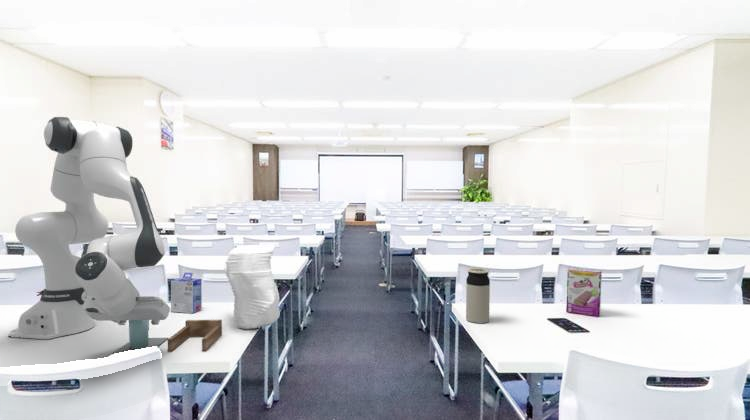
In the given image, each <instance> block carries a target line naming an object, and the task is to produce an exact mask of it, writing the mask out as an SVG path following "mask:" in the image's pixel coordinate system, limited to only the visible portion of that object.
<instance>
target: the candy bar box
mask: <svg viewBox="0 0 750 420" xmlns="http://www.w3.org/2000/svg"><path fill="white" fill-rule="evenodd" d="M602 273H603V272H602V271H601V270H592V269H583V268H573V267H569V268H568V269H567V279H566V280H567V282H566V284H567V285H566V309H565V310H566V312H565V313H570V314H574V315H575V314H576V315H583V316H589V317H596V318H597V317H598V318H599V317H600V315H601V303H602V302H601V301H602V300H601V299H602V278H603V277H602V275H603V274H602Z"/></svg>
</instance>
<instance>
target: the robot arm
mask: <svg viewBox="0 0 750 420" xmlns="http://www.w3.org/2000/svg"><path fill="white" fill-rule="evenodd" d="M43 138H44V141H45V142H44V143H45V145H46V147H47V148H49V150H51V151H53V152H55V153H57V155H56V159H55V160H54V161H55V162H54V168H53V170H52V171H53V172H52V177H51V183H50V184H51V185H50V188H49V189H50V192H51V194H52V195H53V197H54V198H56V199H57V200H59V201H60V202H63V203H64V204H65V210H63V211H43V212H38V213H32V214H28V215H24V216H22V217H21V218H20V219H19V220H18V221H17V222H16V226H15V230H14V231H15V237H16V239H17V240H18V242H20V244H22V245H23V246H25V247H26V248H28V249H30V250H32V251H33V252H34V253H35V254H36V255H37V256H38V257H39V259H40V261H41V263H42V265H43V266H42V267H43V271H44V282H45V285H44V286H45V288H44V289H42V290H41V291H38V292H37V291H36V297H38V296H40V298H39V301H37V302H36V303H35V304H34V305H32V306H31V307H30V308H28V309H27V310H26V311H24V312H23V313H21V315H20V316H19V320H18V324H17V325H18V326H17V327H16V328H14V329H13V330H10V332H9V333H8V336H11V337H10V338H19V337H20V339H21V338H22V339H34V340H35V339H36V340H38V339H39V340H50V339H55V338H60V337H63V336H68V335H75V334H77V333H78V334H79V333H81V332H85V331H88V330H89V329H92V328H94V327H95V326H96V324H95V321H97V322H98V321H99V322H100V321H110V322H113V323H116V324H118V326H126V324H127V322H128V321H129V320H149V321H150V323H151V325H153V326H158V325H159V324H160V321H165V320H166V319H167V318H168V317H169V313H170V312H171V306H169V305H168V303H167V302H166V301H164V300H163V299H162V298H161V297H158V296H153V295H152V296H150V295H149V296H147V295H145V296H142V295H140V292H139V291H138V289H137V287H135V285H134V284H133V283H132V281H131V279H129V278H127V276H126V273H125V272H124V271H128V270H133V269H139V268H147V267H156V265H157V264H158V263H159V262H160V261H161V260H162V259H163V258H164V256H165V243H164V241H163V239H162V237H161V234H160V232H159V229H158V228H157V225H156V224H157V223H156V221H155V218H154V214H153V212H152V208H151V206H150V202H149V199H148V197H147V194H146V191H145V189H144V187H143V184H142V183H141V181H140V180H139V179H138V178H137V177H135V176H132V175H131V174H130V173H129V170H128V166H127V158H128V157H129V156H130V155H131V153H132V150H133V137H132V134H131V132H130V131H129V130H127V129H125V128H122V127H120V126H113V125H110V124H106V123H102V122H99V121H93V120H92V121H90V120H83V119H76V118H69V117H66V116H54V117H52V118H50V119H49V120H48V122H47V124H46V125H45V127H44V131H43ZM95 194H96V195H98V196H101V197H105V198H110V199H116V200H123V201H124V202H125V201H126V202H128V203H129V205H130V208H131V212H132V215H133V218H134V221H135V224H136V229H135V230H134V231H133V232H128V233H122V234H117V235H109V236H106V235H107V233H108V230H109V222H108V219H107V217H106V216H105V215H104V214H103V213H102V212H100V210H99V209H98V208H97V206H96V203H95V199H94V195H95ZM76 244H86V246H85V248H84V249H83V251H82V253H81V256H78V255H75V254H73V253H72V252H71V249H70V245H76ZM94 320H95V321H94Z"/></svg>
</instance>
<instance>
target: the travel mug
mask: <svg viewBox="0 0 750 420" xmlns="http://www.w3.org/2000/svg"><path fill="white" fill-rule="evenodd" d="M466 271H467V274H468V275H467V277H466V278H465V279H466V285H465V289H466V292H465V293H466V295H465V301H466V302H465V303H466V304H465V306H466V308H465V319H466V320H467V321H468V322H470V323H473V324H485V323H488V322H489V321H490V298H491V297H490V291H491V290H490V287H491V283H490V280H491V279H490V278H489V273H490V270H489V269H487V268H482V267H481V268H480V267H471V268H467V270H466Z"/></svg>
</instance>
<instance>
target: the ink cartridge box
mask: <svg viewBox="0 0 750 420" xmlns="http://www.w3.org/2000/svg"><path fill="white" fill-rule="evenodd" d="M193 274H194V273H193V272H185V271H184V273H183V275H182V277H179V278H175V279H172V280H170V312H171V313H184V314H186V313H187V314H195V313H197V312H200V311H202V310H201V309H203V307H202V306H203V304H202V303H203V302H202V296H203V295H202V278H192V277H193ZM188 275H189V276H188ZM199 310H200V311H199Z"/></svg>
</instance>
